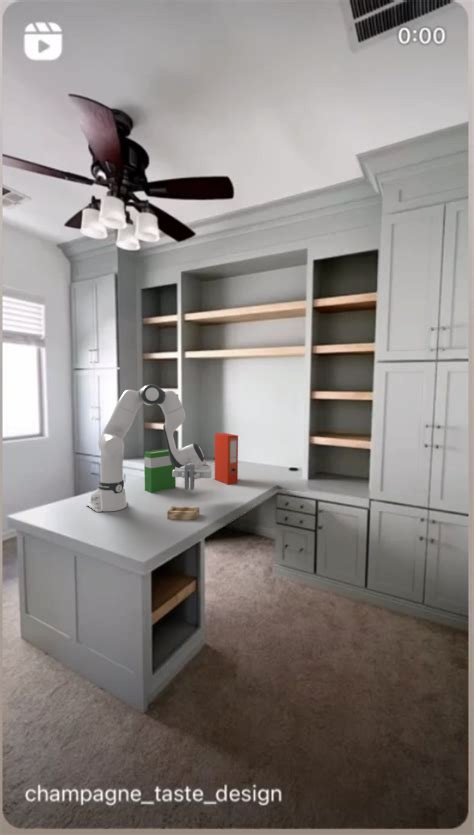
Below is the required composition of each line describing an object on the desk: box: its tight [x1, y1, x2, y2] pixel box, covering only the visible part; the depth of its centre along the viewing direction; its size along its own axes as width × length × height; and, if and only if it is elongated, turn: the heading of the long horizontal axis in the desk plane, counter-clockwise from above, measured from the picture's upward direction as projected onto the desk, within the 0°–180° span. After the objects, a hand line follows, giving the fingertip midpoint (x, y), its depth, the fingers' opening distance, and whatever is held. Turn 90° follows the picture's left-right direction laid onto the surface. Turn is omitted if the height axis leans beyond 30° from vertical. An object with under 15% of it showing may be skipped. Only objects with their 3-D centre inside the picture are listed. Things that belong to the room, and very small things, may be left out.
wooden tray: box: [166, 506, 200, 520], centre depth 181 cm, size 14×8×4 cm, turn 84°
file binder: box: [214, 432, 239, 486], centre depth 250 cm, size 8×17×32 cm, turn 32°
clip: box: [184, 464, 195, 491], centre depth 186 cm, size 4×4×12 cm
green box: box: [143, 448, 176, 494], centre depth 230 cm, size 18×7×24 cm, turn 135°
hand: (189, 476), depth 185 cm, fingers closed on clip, 4 cm apart
